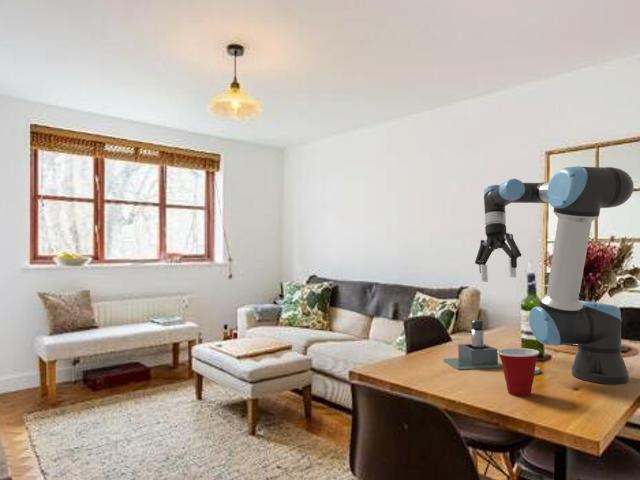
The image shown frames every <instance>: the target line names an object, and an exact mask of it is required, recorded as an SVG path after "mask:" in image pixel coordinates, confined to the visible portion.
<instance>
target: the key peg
mask: <svg viewBox="0 0 640 480" xmlns="http://www.w3.org/2000/svg"><path fill="white" fill-rule="evenodd" d="M470 321H471V323H470V324H471V325H470V326H471V327H470V328H471V332H470V333H471V335H470V336H471V338H470V339H471V344H472V349H484V344H485V342H484V340H485V339H484V337H485V336H484V334H485V333H484V320H481V319H472V320H470Z"/></svg>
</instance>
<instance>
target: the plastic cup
mask: <svg viewBox="0 0 640 480" xmlns="http://www.w3.org/2000/svg"><path fill="white" fill-rule="evenodd" d="M497 353H498V357H499V358H500V361H501V364H502V366H503V367H502V369H503V375H504V379H505V383H506V384H505V385H506V390H507V393H508V394H509V393H510V394H509V395H511V394H512V395H511V396H514V395H515V397H522V396H523V398H524V397H529V396H531V394H532V388H533V384H534V378H535V374H534V373H535V366H536V367H537V360H538V356H539V354H540V351H539V350H536V349H533V348H526V347H524V348H521V347H520V348H519V347H512V348H511V347H510V348H509V347H508V348H502V349H501V348H500V349H499V350H498V351H497Z"/></svg>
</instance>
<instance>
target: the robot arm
mask: <svg viewBox="0 0 640 480" xmlns="http://www.w3.org/2000/svg"><path fill="white" fill-rule="evenodd" d="M633 181H634V180H633V179H632V177H631V175H629V173H628V172H626V170H625V171H624V170H623V169H621V168H617V167H611V166H606V167H605V166H603V167H601V166H568V167H563V168H560V169H559V170H557V171H556V172H555V173H554V174H553V176H552V177H551V179H550V180H549V181H545V182H523V181H522V180H519V179H517V178H510V179H508V180H505V181H504V182H502V183H501V184H492V185H491V184H490V185H489V186H486V187H485V188H484V190H483V204H484V206H483V207H484V225H485V227H484V228H485V229H484V230H485V236H486V239H481V240H480V244H479V245H480V246H479V249H478V252H477V255H476V258H475V261H474V264H475V265H478V267H479V274H480V282H485V283H488V265H487V262H488V260H489V258H490V257H491V255H492V253H493V252H494V251H495V250H498V249H502V250H503V252H505V254H506V255H507V256H508V260H507V261H508V263H507V264H508V277H509V278H517V270H516V269H517V267H518V260H517V259H518V258H519V257H520V258H521V257H522V253H521V251H520V249H519V247H518V245H517V243H516V242H515V240H514V235H513V234H512V233H509V232H507V225H506V224H507V222H506V206H508V205H511V204H516V203H517V204H529V203H530V204H549V206H551V207H553V213H554V214H555V216H556V217H557V224H556V230H555V237H554V243H553V250H552V257H551V264H550V270H549V277H548V283H547V290H546V294H544V295H543V296H541V297H540V299H539V305H538V306H537V305H536V306H535V307H532V308H531V309H530V312H529V314H528V315H529V316H528V323H529V327H530V330H531V333H532V335H533V336H534V338H535V339H536V340H537V342H539V343H540V344H542V345H544V346H555V347H556V346H557V347H558V346H574V345H573V344H578V345H577V351H576V353H575V357H574V360H573V364H572V365H571V375H572V376H573V377H575V378H577V379H580V380H582V381H587V382H592V383H596V384H597V383H598V384H605V385H607V384H609V385H621V384H626V383H629V382H630V374H629V371H628V369H627V366H626V364H625V360H624V358H623V354H622V317H621V316H622V315H621V309H620V308H619V307H618V306H617V305H614V304H608V303H601V302H593V301H587V300H580V296H579V293H580V294H581V289H582V288H581V287H582V282H583V277H584V268H585V265H586V257H587V251H588V247H589V242H590V241H589V240H590V235H591V228H592V222H593V221H594V220H597V218H599V217H600V212H601V209H611V208H615V207H620V206H621V205H623V204H625V203H626V202H627V201H628V200H629V199H630V198H631V196H632V195H633V193H634V189H635V187H634V182H633ZM506 242H507V243H506Z"/></svg>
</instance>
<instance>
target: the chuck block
mask: <svg viewBox="0 0 640 480" xmlns="http://www.w3.org/2000/svg"><path fill="white" fill-rule="evenodd" d="M497 351H498V348H495V347H494V346H490V345H488V344H486V343H484V349H472V343H465V344H463V343H462V344H458V357H452V358H451V357H450V358H443V362H444V363H445V364H447V365H449V366H451V367H452V368H454V369H456V370H457V371H459V370H460V371H462V370H479V369H481V368H482V369H496V368H497V367H501V368H503V366H502V363H500V362H499V354H498V353H497ZM497 369H498V368H497Z"/></svg>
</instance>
